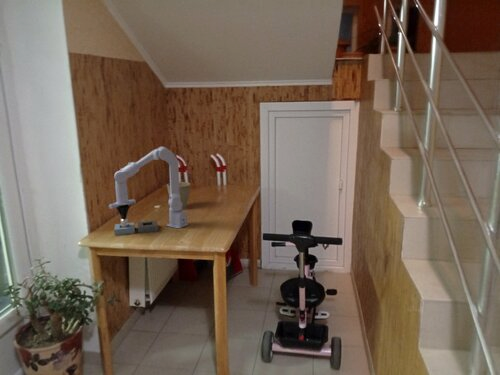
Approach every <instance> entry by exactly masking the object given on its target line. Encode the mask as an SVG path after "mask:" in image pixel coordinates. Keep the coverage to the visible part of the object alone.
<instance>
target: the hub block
mask: <svg viewBox="0 0 500 375" xmlns="http://www.w3.org/2000/svg"><path fill="white" fill-rule="evenodd" d="M135 226H136V225H135V222H128V227H124V228H121V223H115V224H114V229H113V230H114V236H121V235H122V236H123V235H124V236H125V235H133V234H135V233H136V229H135V228H136V227H135Z"/></svg>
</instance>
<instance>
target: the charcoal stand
mask: <svg viewBox="0 0 500 375" xmlns="http://www.w3.org/2000/svg"><path fill="white" fill-rule="evenodd" d="M137 228H138V229H137V230H138V233H139V234H140V233H141V234H143V233H151V232H158V231H159V226H158V220H147V221H138V222H137Z"/></svg>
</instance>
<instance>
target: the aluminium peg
mask: <svg viewBox="0 0 500 375" xmlns="http://www.w3.org/2000/svg"><path fill="white" fill-rule="evenodd" d="M119 221H120V224H121V228H124V227H128V223H129V220H128V217H126V219H122V218H121V217H120V220H119Z"/></svg>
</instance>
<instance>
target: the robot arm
mask: <svg viewBox="0 0 500 375" xmlns="http://www.w3.org/2000/svg"><path fill="white" fill-rule="evenodd" d="M160 159H161V160H163V161H165V162H166V163H167V164H168V166H169V183H170V196H169V199H168V201H167V203H168V205H169V208H168V214H169V215H168V216H169V223H168V224H166V227H171V228H175V229H181V228H184V227H187V226H188V225H189V223H188V214H187V212H186V211H185V210H184V209H182V202H181V199H180V194H179V182H180V176H179V175H180V174H179V173H180V172H179V160H178V158H177V157H176V156H175V154H174V153H173V151H172V150H170V149H168V148H167V147H165V146H161V145H160V146H159V147H157V148H155V149H153V150H152V151H150V152H149V153H148V154H146V155H144V156H143V157H142V158H140V159H139V160H138V161H136V162H135V161H132V162H128V163H127V165H126V166H124V167H123V168H122V167H121V168H119V169H120V170H118V171H116V172H115V173H114V174H113V175H114V176H113V178H114V180H115V186H114V187H115V196H116V202H113V203H110V204H109V205H108V208H109V209H110V210H113V209H115V208H116V209H117V211H118V213H119V215H120V219H121V218H122V219H126V218H127V215H128V212H129V210H130V209H131V208H130V206H131V204H136V203H137V202H136V201H137V200H136V199H134V198H132V199H129V196H128V195H129V194H128V185H127V179H129V178H131V177H133V176H135V174H137V173H138V172H140V168H141V167H143V166H145V165H147V164H148V163H150V162H151V161H156V160H159V161H160Z"/></svg>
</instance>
